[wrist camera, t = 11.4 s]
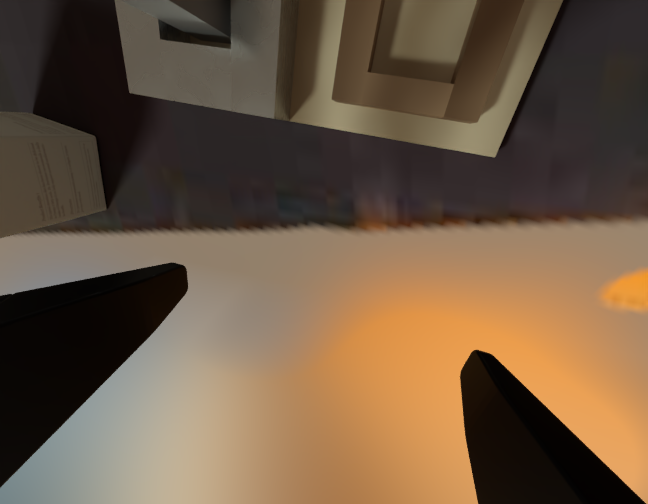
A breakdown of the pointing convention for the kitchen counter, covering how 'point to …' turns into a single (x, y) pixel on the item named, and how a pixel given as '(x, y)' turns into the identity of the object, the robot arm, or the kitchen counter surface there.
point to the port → (216, 59)
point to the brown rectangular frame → (415, 94)
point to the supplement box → (46, 173)
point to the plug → (192, 16)
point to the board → (412, 69)
